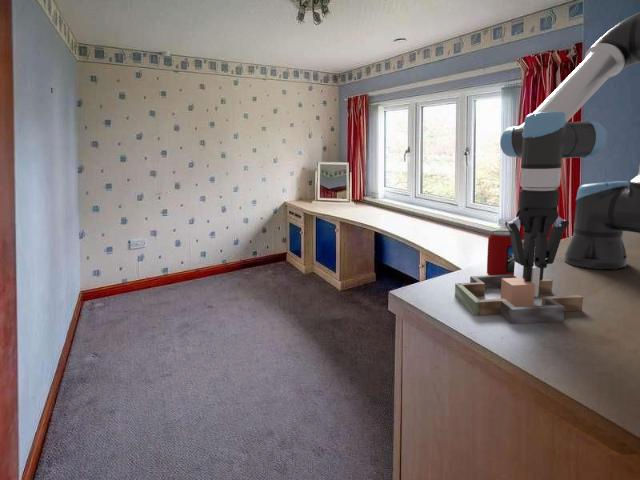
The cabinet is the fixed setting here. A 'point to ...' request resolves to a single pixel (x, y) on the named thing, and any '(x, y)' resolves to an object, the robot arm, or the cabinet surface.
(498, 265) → the beverage can
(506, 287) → the block
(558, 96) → the robot arm
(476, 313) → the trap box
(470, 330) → the cabinet surface
